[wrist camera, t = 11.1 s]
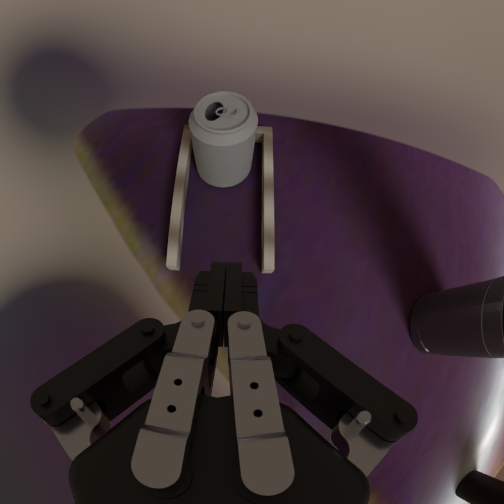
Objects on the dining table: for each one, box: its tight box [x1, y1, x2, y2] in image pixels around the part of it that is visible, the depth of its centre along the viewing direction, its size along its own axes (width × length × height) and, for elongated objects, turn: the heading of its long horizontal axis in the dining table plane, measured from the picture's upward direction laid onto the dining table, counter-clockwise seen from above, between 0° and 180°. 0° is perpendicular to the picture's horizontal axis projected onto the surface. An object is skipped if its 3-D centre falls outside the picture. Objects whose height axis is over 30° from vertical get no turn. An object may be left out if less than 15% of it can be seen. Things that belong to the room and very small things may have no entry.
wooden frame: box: [166, 124, 274, 273], centre depth 35 cm, size 20×12×2 cm, turn 179°
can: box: [189, 91, 258, 187], centre depth 32 cm, size 8×8×12 cm
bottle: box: [456, 470, 504, 504], centre depth 17 cm, size 7×7×20 cm
